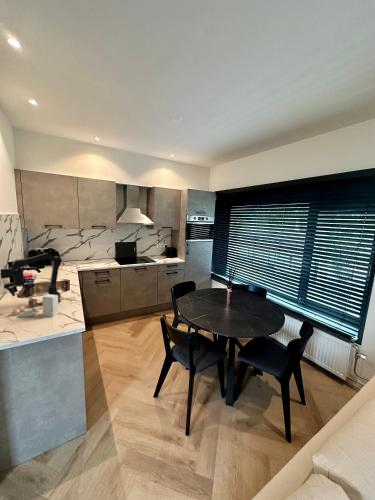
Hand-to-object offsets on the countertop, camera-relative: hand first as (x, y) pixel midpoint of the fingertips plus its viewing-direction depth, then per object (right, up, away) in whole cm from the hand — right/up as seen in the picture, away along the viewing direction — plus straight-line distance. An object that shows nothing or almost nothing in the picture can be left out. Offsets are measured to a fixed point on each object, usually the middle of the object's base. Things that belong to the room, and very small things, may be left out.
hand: (20, 296), depth 159 cm
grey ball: (+10, -12, +1) cm, 15 cm away
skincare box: (+26, -13, -4) cm, 30 cm away
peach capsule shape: (+2, -12, -6) cm, 14 cm away
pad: (+10, -13, -5) cm, 17 cm away
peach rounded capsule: (+1, -12, -1) cm, 12 cm away
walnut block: (+4, -10, +8) cm, 14 cm away
